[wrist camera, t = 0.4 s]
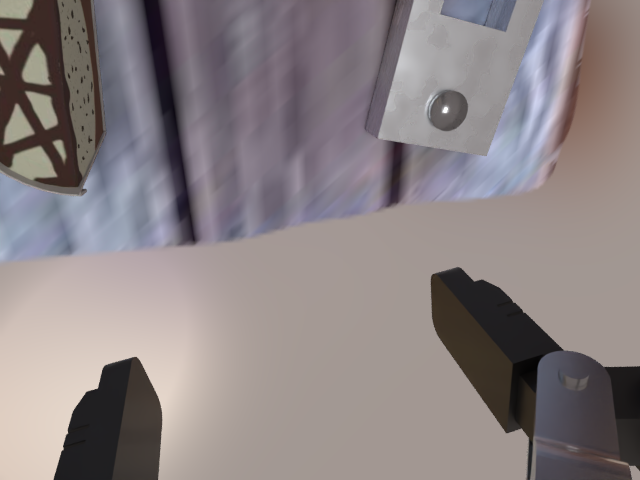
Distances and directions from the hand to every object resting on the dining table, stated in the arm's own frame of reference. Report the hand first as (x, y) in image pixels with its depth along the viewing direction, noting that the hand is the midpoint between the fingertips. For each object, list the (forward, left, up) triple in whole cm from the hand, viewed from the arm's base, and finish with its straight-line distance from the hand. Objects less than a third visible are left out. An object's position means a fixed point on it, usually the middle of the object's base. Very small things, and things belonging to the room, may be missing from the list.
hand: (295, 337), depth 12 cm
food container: (-2, -12, -26) cm, 29 cm away
